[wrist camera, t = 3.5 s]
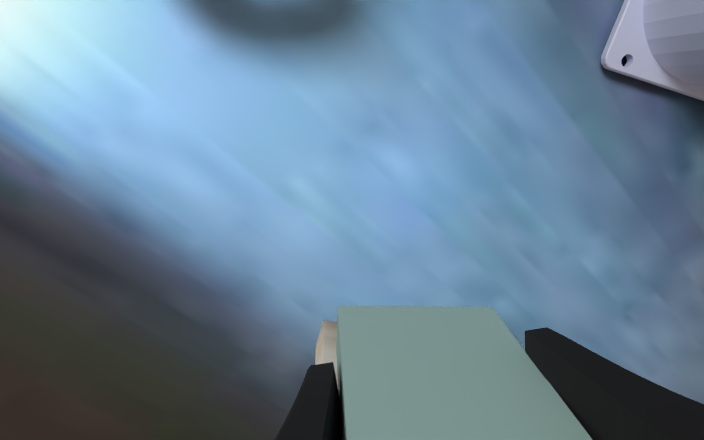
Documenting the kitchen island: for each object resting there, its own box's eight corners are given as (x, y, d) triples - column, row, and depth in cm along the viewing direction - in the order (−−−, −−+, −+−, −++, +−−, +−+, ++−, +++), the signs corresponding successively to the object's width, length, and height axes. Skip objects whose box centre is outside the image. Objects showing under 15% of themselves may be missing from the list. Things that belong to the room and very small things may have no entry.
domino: (491, 306, 14) (696, 576, 6) (485, 349, 14) (667, 647, 7) (337, 306, 14) (357, 592, 6) (336, 349, 14) (352, 665, 6)
